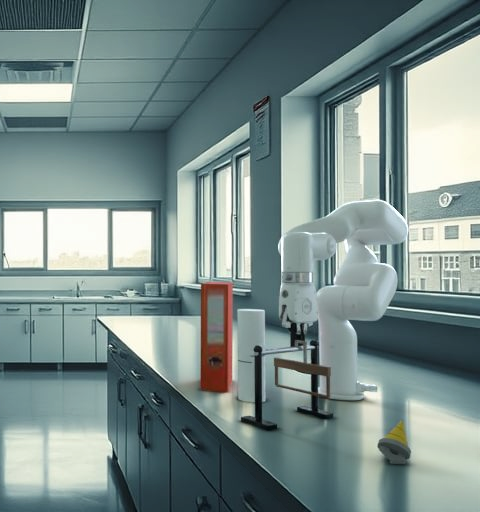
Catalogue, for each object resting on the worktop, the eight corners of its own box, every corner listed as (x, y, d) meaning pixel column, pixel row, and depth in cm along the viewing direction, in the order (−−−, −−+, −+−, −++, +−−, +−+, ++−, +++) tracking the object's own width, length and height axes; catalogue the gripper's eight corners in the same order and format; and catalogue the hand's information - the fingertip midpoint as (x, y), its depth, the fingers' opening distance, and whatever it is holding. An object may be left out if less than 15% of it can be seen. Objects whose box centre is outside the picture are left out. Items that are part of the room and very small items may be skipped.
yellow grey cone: (368, 460, 107) (381, 418, 112) (398, 475, 105) (410, 432, 110) (380, 451, 103) (393, 408, 107) (412, 467, 101) (423, 422, 105)
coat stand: (304, 410, 142) (303, 337, 142) (333, 417, 135) (332, 341, 135) (240, 421, 132) (240, 343, 132) (268, 430, 124) (267, 348, 125)
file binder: (233, 381, 177) (232, 282, 178) (228, 392, 161) (228, 284, 162) (207, 379, 180) (206, 282, 181) (200, 390, 165) (199, 283, 165)
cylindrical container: (267, 403, 149) (267, 311, 150) (240, 401, 151) (239, 310, 151) (262, 396, 156) (261, 309, 157) (236, 395, 158) (235, 308, 158)
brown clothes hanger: (277, 385, 142) (276, 337, 143) (331, 398, 129) (330, 344, 129) (274, 386, 142) (273, 337, 142) (327, 399, 129) (327, 344, 129)
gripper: (290, 279, 138) (290, 352, 137) (328, 279, 144) (329, 348, 144) (265, 279, 144) (265, 348, 144) (303, 278, 151) (303, 345, 151)
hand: (297, 348), depth 144 cm, fingers closed
